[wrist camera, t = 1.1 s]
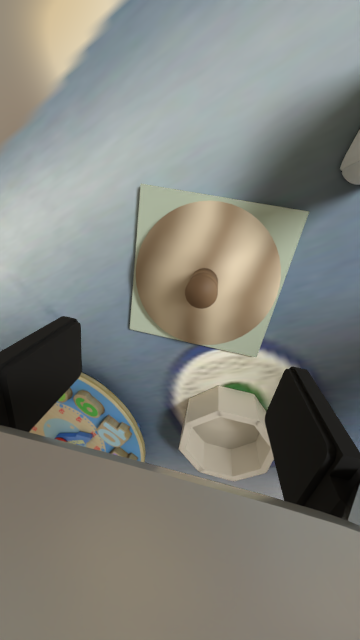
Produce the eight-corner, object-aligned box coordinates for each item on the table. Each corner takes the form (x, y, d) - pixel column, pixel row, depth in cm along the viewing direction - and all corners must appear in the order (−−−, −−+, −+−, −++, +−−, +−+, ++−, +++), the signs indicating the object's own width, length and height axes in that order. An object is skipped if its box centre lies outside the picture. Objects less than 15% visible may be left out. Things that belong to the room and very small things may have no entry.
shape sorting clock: (34, 322, 35) (-1, 340, 29) (183, 429, 39) (177, 462, 33) (-16, 420, 47) (-46, 445, 42) (101, 494, 51) (87, 526, 45)
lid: (302, 216, 23) (328, 212, 17) (253, 353, 30) (261, 381, 24) (144, 189, 24) (123, 178, 19) (133, 326, 31) (115, 347, 26)
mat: (307, 212, 23) (309, 211, 22) (255, 355, 30) (256, 357, 30) (142, 184, 25) (140, 183, 24) (131, 327, 32) (129, 329, 31)
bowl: (280, 400, 33) (290, 428, 28) (253, 457, 38) (258, 488, 33) (193, 379, 34) (189, 403, 29) (179, 437, 39) (174, 465, 34)
